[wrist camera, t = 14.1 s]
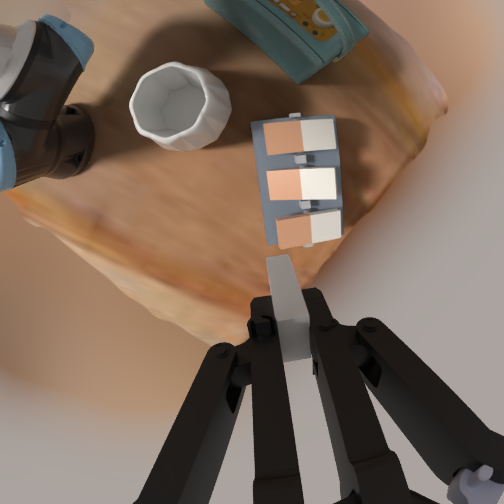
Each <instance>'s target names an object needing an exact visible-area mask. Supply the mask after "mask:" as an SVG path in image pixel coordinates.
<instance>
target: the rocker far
mask: <svg viewBox="0 0 504 504" xmlns="http://www.w3.org/2000/svg"><path fill="white" fill-rule="evenodd" d="M276 226H277V235H278V244H279V247H280V249H286V248H291V247H296V246H301V245H307V244H312V243H317V242H322V241H327V240H332V239H337V238H341V214H340V210H339V209H337V208H336V209H329V210H323V211H317V212H310V211H309V209H305V210H303V214H298V215H292V216H286V217H281V218H276Z"/></svg>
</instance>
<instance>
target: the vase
mask: <svg viewBox="0 0 504 504" xmlns="http://www.w3.org/2000/svg"><path fill="white" fill-rule="evenodd" d="M129 109H130V112H131V115H132V117H133V120H134V124H135V127H136V129H137V131H138V132H139V133H140V134H141V135H143V136H145V137H147V138H150V139H152V140H153V141H154V142H156V143H157V144H158V145H160V146H161V147H163V148H164V149H167V150H175V151H181V152H188V151H192V150H198V149H200V148H203V147H204V146H206V145H208V144H210V143H212V142H214V141H216V140H218V137H219V136H220V134H221V132H222V131H223V129H224V128H225V126H226V124H227V122H228V119H229V117H230V114H231V112H232V107H231V102H230V96H229V92H228V90H227V88H226V87H225V85H224V84H223V82H222V81H221V80H220V79H219V78H217V77H216V76H215V75H213V74H212V73H211V72H209V71H208V70H207V69H205V68H201V67H196V66H190V65H185V64H182V63H180V62H169V63H166V64H164V65H162V66H160V67H157V68H156V69H153V70H151V71H149V72H147V73H146V74H144V75H143V76H142V77H141V78H140V80H139V82H138V84H137V86H136V89H135V91H134V93H133V95H132V97H131V99H130V102H129Z"/></svg>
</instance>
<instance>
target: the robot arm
mask: <svg viewBox="0 0 504 504" xmlns="http://www.w3.org/2000/svg"><path fill="white" fill-rule="evenodd" d="M93 52H94V43H93V42H92V40H91V39H90V38H89V37H88V36H86V35H85V34H84V33H83V32H81V31H80V30H78V29H77V28H75V27H74V26H72V25H70V24H67V23H66V22H64V21H63V20H61V19H59V18H57V17H55V16H52V15H48V14H45V15H43V16H42V17H41V18H39V19H38V21H34V20H30V19H29V20H26V21H24V22H23V23H21V24H19V25H17V26H15V27H13V26H10V25H6V24H1V23H0V191H4V190H10V189H11V188H14V187H16V186H19V185H21V184H24V183H27V182H29V181H32V180H35V179H37V178H40V177H48V178H53V179H65V178H68V177H71V176H74V175H76V174H77V173H79V172H80V171H81V170H82V169H83V168H84V167H85V165H86V164H87V162H88V161H89V159H90V156H91V154H92V151H93V147H94V127H93V123H92V121H91V118H90V117H89V115H88V114H87V112H86V111H85V110H83V109H82V108H80V107H78V106H73V105H64V103H65V102H66V100H67V98H68V96H69V94H70V92H71V90H72V88H73V87H74V85H75V83H76V81H77V80H78V78H79V76H80V75H81V73H82V72H83V71H84V69H85V66H86V64H87V62H88V61H89V59H90V57H91V56H92V54H93ZM266 264H267V270H268V277H269V284H270V291H271V295H270V296H263V297H256V298H254V299H253V300H252V302H251V303H250V306H251V318H250V319H249V320H248V323H247V327H248V331H249V336H250V338H249V339H248V340H247V341H246V342H244V343H242V344H240V345H238V346H235V347H234V346H233V345H232V344H230V343H226V342H224V343H218V344H215V345H213V346H212V347H211V348H210V349H209V350H208V352H207V354H206V356H205V358H204V360H203V362H202V364H201V367H200V369H199V371H198V373H197V375H196V377H195V379H194V381H193V383H192V386H191V388H190V390H189V392H188V394H187V396H186V398H185V401H184V403H183V405H182V407H181V409H180V411H179V413H178V415H177V417H176V420H175V422H174V424H173V426H172V428H171V430H170V432H169V434H168V437H167V439H166V441H165V443H164V445H163V447H162V449H161V451H160V453H159V455H158V458H157V460H156V462H155V464H154V466H153V468H152V470H151V472H150V475H149V477H148V479H147V481H146V483H145V485H144V487H143V489H142V491H141V493H140V495H139V498H138V499H137V500H136V501H135V502H134V503H133V504H208V503H209V500H210V498H211V495H212V492H213V489H214V486H215V483H216V480H217V477H218V474H219V471H220V468H221V465H222V462H223V459H224V456H225V453H226V450H227V447H228V444H229V441H230V438H231V435H232V431H233V428H234V425H235V422H236V418H237V415H238V412H239V409H240V406H241V402H242V399H243V395H244V392H245V389H246V386H247V385H249V384H252V408H253V435H254V458H255V459H254V460H255V479H254V481H253V504H304V499H303V491H302V484H301V478H300V472H299V465H298V458H297V451H296V444H295V437H294V430H293V424H292V417H291V410H290V403H289V397H288V390H287V384H286V377H285V371H284V365H283V362H288V361H294V360H300V359H306V358H311V354H312V358H313V375H315V376H316V380H317V384H318V388H319V392H320V396H321V400H322V405H323V409H324V413H325V417H326V421H327V426H328V430H329V434H330V438H331V443H332V447H333V452H334V456H335V461H336V465H337V470H338V475H339V480H340V494H341V500H340V501H338V502H336V503H334V504H439V503H437V502H435V501H433V500H431V499H429V498H426V497H425V496H422V495H420V494H419V493H417V492H415V491H412V490H410V489H409V488H408V485H407V482H406V479H405V476H404V473H403V470H402V467H401V464H400V461H399V458H398V456H397V454H396V453H395V452H394V451H391V450H390V449H389V448H388V445H387V443H386V440H385V437H384V434H383V432H382V429H381V426H380V423H379V420H378V418H377V415H376V412H375V410H374V407H373V404H372V402H371V399H370V397H369V394H368V391H367V389H366V386H365V384H366V385H367V387H368V388H369V390H370V391H371V392H372V393H373V395H374V396H375V397H376V399H377V400H378V401H379V402H380V404H381V405H382V406H383V407H384V409H385V410H386V411H387V413H388V414H389V415H390V416H391V418H392V419H393V420H394V422H395V423H396V424H397V426H398V427H399V428H400V430H401V431H402V432H403V433H404V435H405V436H406V437H407V439H408V440H409V441H410V443H411V444H412V445H413V447H414V448H415V449H416V451H417V452H418V453H419V455H420V456H421V457H422V459H423V460H424V461H425V462H426V464H427V465H428V466H429V468H430V469H431V470H432V471H433V473H434V474H435V475H436V476H437V477H438V478H439V479H440V480H441V481H443V482H444V483H445V484H447V485H448V486H449V487H448V493H447V498H448V500H450V501H451V502H452V503H453V504H497V502H498V501H499V499H500V497H501V495H502V493H503V491H504V436H502V435H500V434H498V433H496V432H493V431H492V430H489V428H488V427H487V426H486V425H485V424H484V423H483V422H482V421H481V420H480V419H479V418H478V417H477V416H476V414H475V413H474V412H473V411H472V410H471V409H470V408H469V407H468V406H467V405H466V404H465V403H464V402H463V401H462V400H461V399H460V398H459V397H458V396H457V395H456V394H455V393H454V392H453V391H452V390H451V389H450V387H449V386H447V385H446V383H445V382H443V380H441V379H440V377H439V376H437V374H436V373H435V372H434V371H432V369H431V368H429V367H428V366H427V365H426V364H425V363H424V362H423V361H422V360H421V359H420V358H419V357H418V356H417V355H416V354H415V353H414V352H413V351H412V350H411V349H410V348H409V347H408V346H407V345H406V344H405V343H404V342H403V341H402V340H400V339H399V338H398V337H397V336H396V335H395V334H394V333H393V332H392V331H391V330H390V329H389V328H388V327H387V326H386V325H385V324H384V323H382V322H381V321H380V320H378V319H376V318H373V317H371V318H370V317H368V318H363V319H361V320H360V321H358V323H357V324H356V326H346V325H341V324H339V322H338V321H337V320H336V319H334V318H333V317H332V315H331V312H330V310H329V308H328V306H327V303H326V301H325V299H324V296H323V294H322V292H321V291H320V290H319V289H317V288H309V289H303V290H301V289H300V286H299V283H298V280H297V277H296V274H295V271H294V268H293V265H292V262H291V260H290V257H289V254H285V255H279V256H272V257H266ZM364 383H365V384H364Z"/></svg>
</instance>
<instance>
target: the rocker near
mask: <svg viewBox="0 0 504 504" xmlns="http://www.w3.org/2000/svg"><path fill="white" fill-rule="evenodd" d="M263 128H264V135H265V142H266V149H267V155H276V154H285V153H294V152H297V154H301V153H304V151H314V150H327V149H336V141H335V131H334V123H333V119H316V120H300V119H293V121H286V122H275V123H266V124H263Z"/></svg>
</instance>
